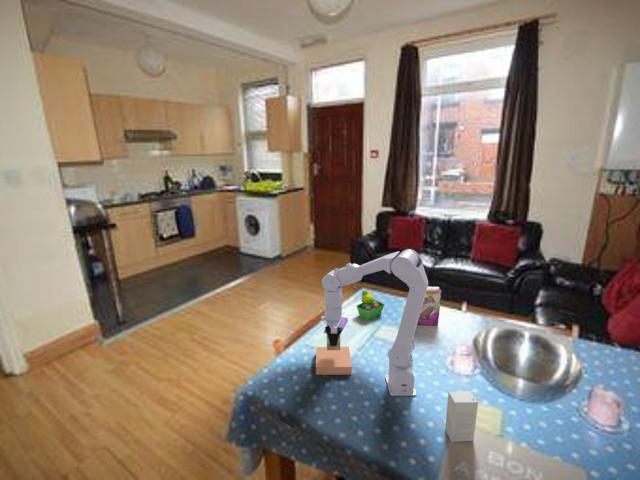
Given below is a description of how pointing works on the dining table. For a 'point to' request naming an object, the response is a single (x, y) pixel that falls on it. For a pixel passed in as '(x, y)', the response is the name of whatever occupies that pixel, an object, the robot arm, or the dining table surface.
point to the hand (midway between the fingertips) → (333, 341)
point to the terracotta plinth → (333, 361)
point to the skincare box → (461, 416)
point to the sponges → (343, 322)
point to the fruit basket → (369, 306)
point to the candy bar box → (430, 307)
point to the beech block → (333, 346)
